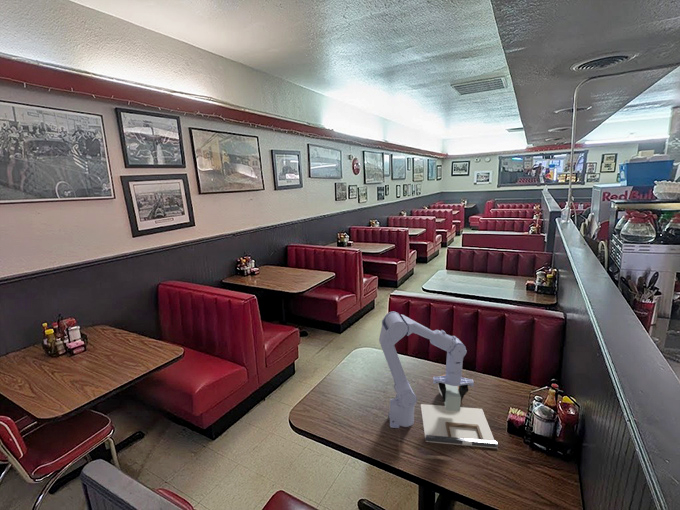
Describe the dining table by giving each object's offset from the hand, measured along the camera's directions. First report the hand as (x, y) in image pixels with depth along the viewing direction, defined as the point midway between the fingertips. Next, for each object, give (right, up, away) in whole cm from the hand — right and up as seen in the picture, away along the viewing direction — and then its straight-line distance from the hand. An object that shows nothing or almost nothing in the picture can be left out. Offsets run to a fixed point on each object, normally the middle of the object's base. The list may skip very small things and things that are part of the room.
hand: (451, 400), depth 128 cm
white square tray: (+1, -8, -3) cm, 9 cm away
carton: (0, -1, 0) cm, 1 cm away
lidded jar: (+4, -5, +14) cm, 15 cm away
